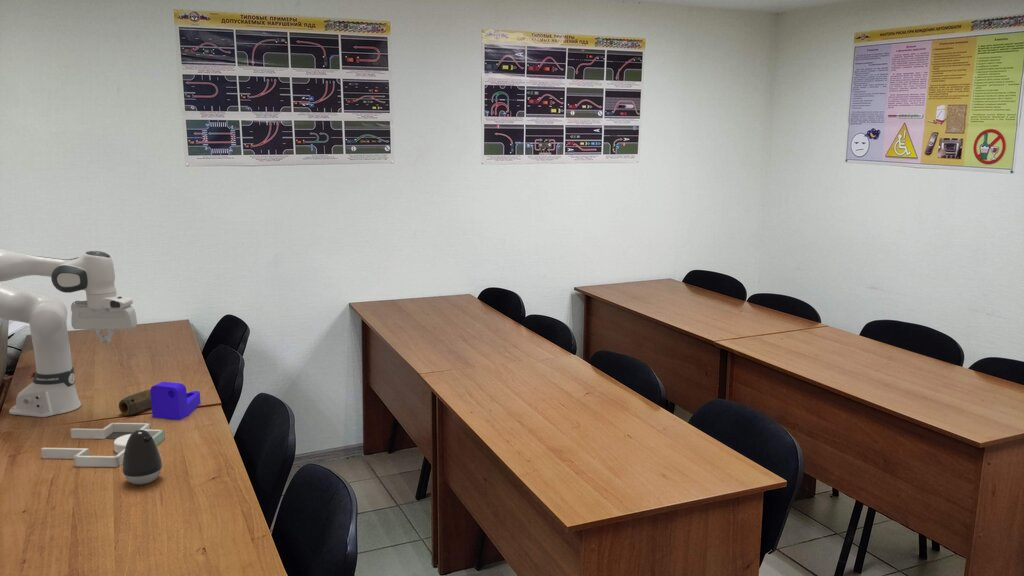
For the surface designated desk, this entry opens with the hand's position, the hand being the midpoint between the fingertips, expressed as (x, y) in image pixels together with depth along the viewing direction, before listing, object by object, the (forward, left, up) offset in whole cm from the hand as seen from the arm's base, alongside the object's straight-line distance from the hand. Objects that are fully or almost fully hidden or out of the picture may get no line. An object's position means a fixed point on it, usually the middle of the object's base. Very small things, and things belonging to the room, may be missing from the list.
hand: (106, 342), depth 266 cm
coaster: (+15, -19, -30) cm, 38 cm away
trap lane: (+7, -19, -29) cm, 35 cm away
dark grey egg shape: (+30, -42, -29) cm, 59 cm away
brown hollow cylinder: (+2, +16, -30) cm, 33 cm away
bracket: (+16, +16, -30) cm, 37 cm away
